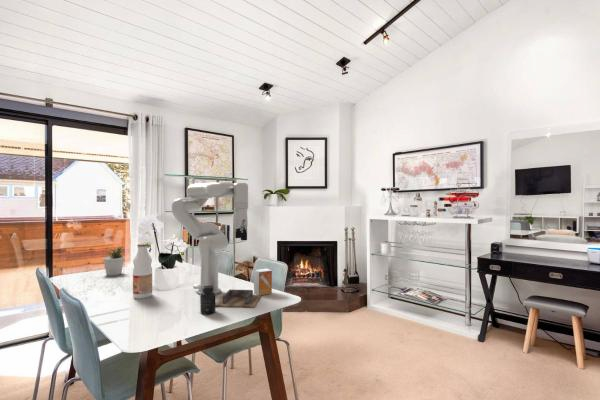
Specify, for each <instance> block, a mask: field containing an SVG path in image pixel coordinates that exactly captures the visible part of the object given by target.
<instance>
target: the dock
mask: <svg viewBox="0 0 600 400" xmlns="http://www.w3.org/2000/svg"><path fill="white" fill-rule="evenodd" d="M261 297H262V295H256V294H254V289H228V290H227V291H226V292H225V294H223V295H222V296H221V297H220V298H219V299H218V300H217V301H216V308H247V309H248V308H249V309H251V308H252V309H254V308H256V306H257V304H258V303H259V301H260V300H261Z"/></svg>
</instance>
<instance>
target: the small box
mask: <svg viewBox="0 0 600 400" xmlns="http://www.w3.org/2000/svg"><path fill="white" fill-rule="evenodd" d="M272 280H273V271H272V269H269V268H260V269H254V271H253V294H254V295H261V296H265V295H272V293H273V292H272V291H273V288H272V287H273V281H272Z"/></svg>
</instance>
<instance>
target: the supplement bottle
mask: <svg viewBox="0 0 600 400" xmlns="http://www.w3.org/2000/svg"><path fill="white" fill-rule="evenodd" d="M202 291H203V292H202V293H201V295H200V294H199V297H200V298H199V300H200V302H199V303H200V304H199V305H200V307H199V308H200V309H199V310H200V314H201V315H204V316H207V315H213V314H214V313H216V310H217V309H216V308H217V307H216V302H217V301H216V300H217V299H216V294H215V292H213V286H211V285H207V286H203V287H202Z"/></svg>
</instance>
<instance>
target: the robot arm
mask: <svg viewBox="0 0 600 400" xmlns="http://www.w3.org/2000/svg"><path fill="white" fill-rule="evenodd" d="M186 194H187V196H188V197H179V198H177V199H174V200H173V201H172V203H171V212H172V215H173V217H174V218H175V220H176V221H177V222H178V223H179V224H181V225H182V227H184V229H185V230H186V231H187V232H188V233H189V235H190V236H191V237H192V238H193V239H194V240H196V241H197V240H198V250H199V255H200V284H193V289H195V290H197V295H198V294H199V296H200V295H201V293H202V292H203V291H202V287H203V286H207V285H211V286H213V292H215V295H218V294H220V293H221V292H222V289H221V288H220V287H219V258H218V256H217V254H216V253H217V252H221V251H224V250H226V249H227V248H228V247H229V240H228V239H229V238H228V237H227V236H226V235H225V234H224V232H222V230H221V229H220V228H219V226H217V225H216V224H215V223H213V222H209V221H207V222H202V221H200V220H199V219H198V218H197V217H196V216H195V215H194V214H192V213H195V212H198V211H200V210H201V209H202V208H203V207H204V205H205V204H206V203H207V201H208V200H209V199H212V198H233V210H234V211H233V228H235V229H234V230H235V231H234V238H235V239H240V240H241V241H247V240H248V221H249V219H248V210H249V184H248V183H247V182H205V183H192V184H190V185H188V187H187V188H186Z"/></svg>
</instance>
